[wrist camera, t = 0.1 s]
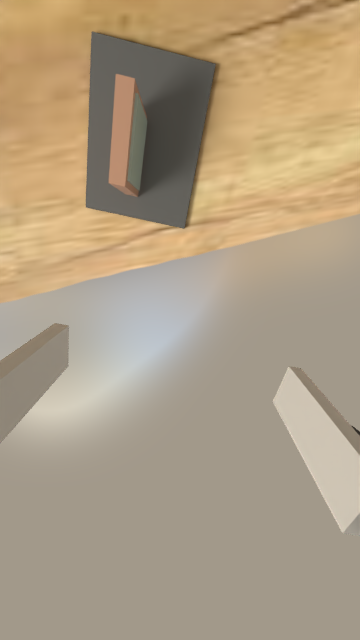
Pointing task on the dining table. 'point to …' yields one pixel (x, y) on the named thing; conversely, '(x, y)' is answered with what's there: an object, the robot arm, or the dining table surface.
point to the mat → (148, 127)
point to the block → (127, 137)
